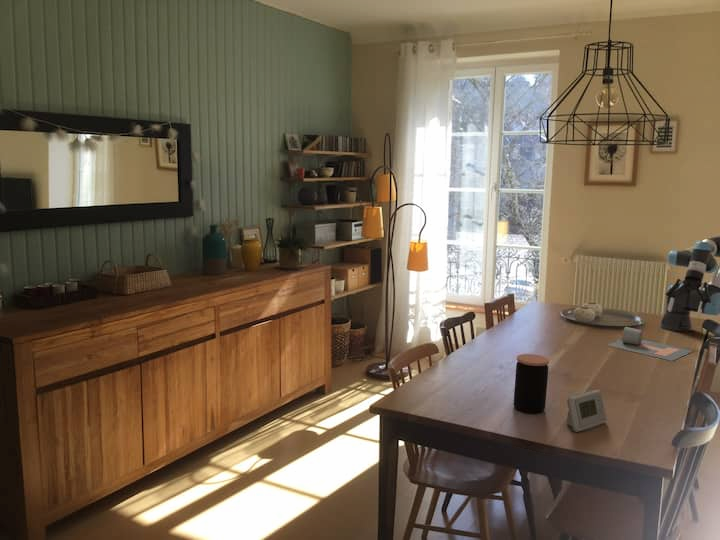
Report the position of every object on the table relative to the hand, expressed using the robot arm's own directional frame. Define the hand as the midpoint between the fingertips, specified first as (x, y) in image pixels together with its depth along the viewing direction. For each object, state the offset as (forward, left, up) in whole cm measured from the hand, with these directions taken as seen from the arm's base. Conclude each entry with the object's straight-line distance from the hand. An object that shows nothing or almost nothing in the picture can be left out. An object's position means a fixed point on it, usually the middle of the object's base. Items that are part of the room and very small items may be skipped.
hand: (683, 313), depth 313 cm
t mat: (+21, -5, -15) cm, 26 cm away
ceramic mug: (+20, -14, -15) cm, 29 cm away
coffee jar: (+131, +1, -15) cm, 132 cm away
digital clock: (+129, +21, -15) cm, 132 cm away
